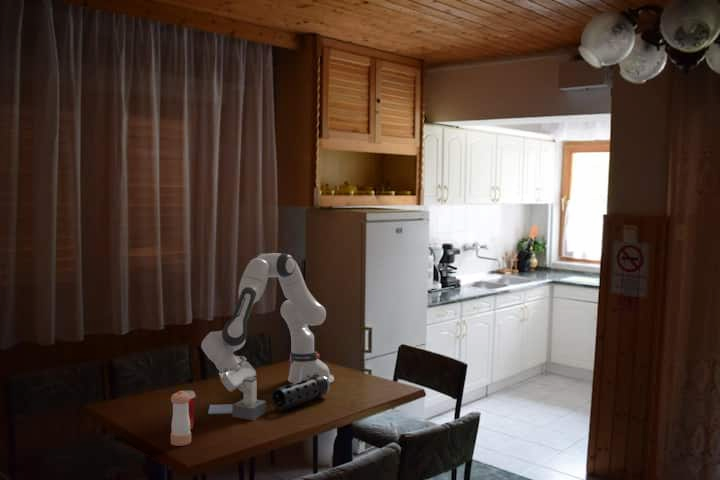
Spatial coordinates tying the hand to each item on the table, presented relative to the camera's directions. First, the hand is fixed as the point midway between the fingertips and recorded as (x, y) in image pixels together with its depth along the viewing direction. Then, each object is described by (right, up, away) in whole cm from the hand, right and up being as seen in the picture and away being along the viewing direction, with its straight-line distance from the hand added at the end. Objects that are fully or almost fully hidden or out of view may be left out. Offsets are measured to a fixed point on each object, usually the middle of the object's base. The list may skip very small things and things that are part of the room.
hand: (251, 391), depth 274 cm
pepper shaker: (-21, -12, -29) cm, 38 cm away
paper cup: (-23, -11, -15) cm, 30 cm away
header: (-1, -10, +1) cm, 10 cm away
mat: (-14, -9, +6) cm, 18 cm away
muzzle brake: (+19, -9, +16) cm, 27 cm away
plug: (-1, -8, +1) cm, 8 cm away
